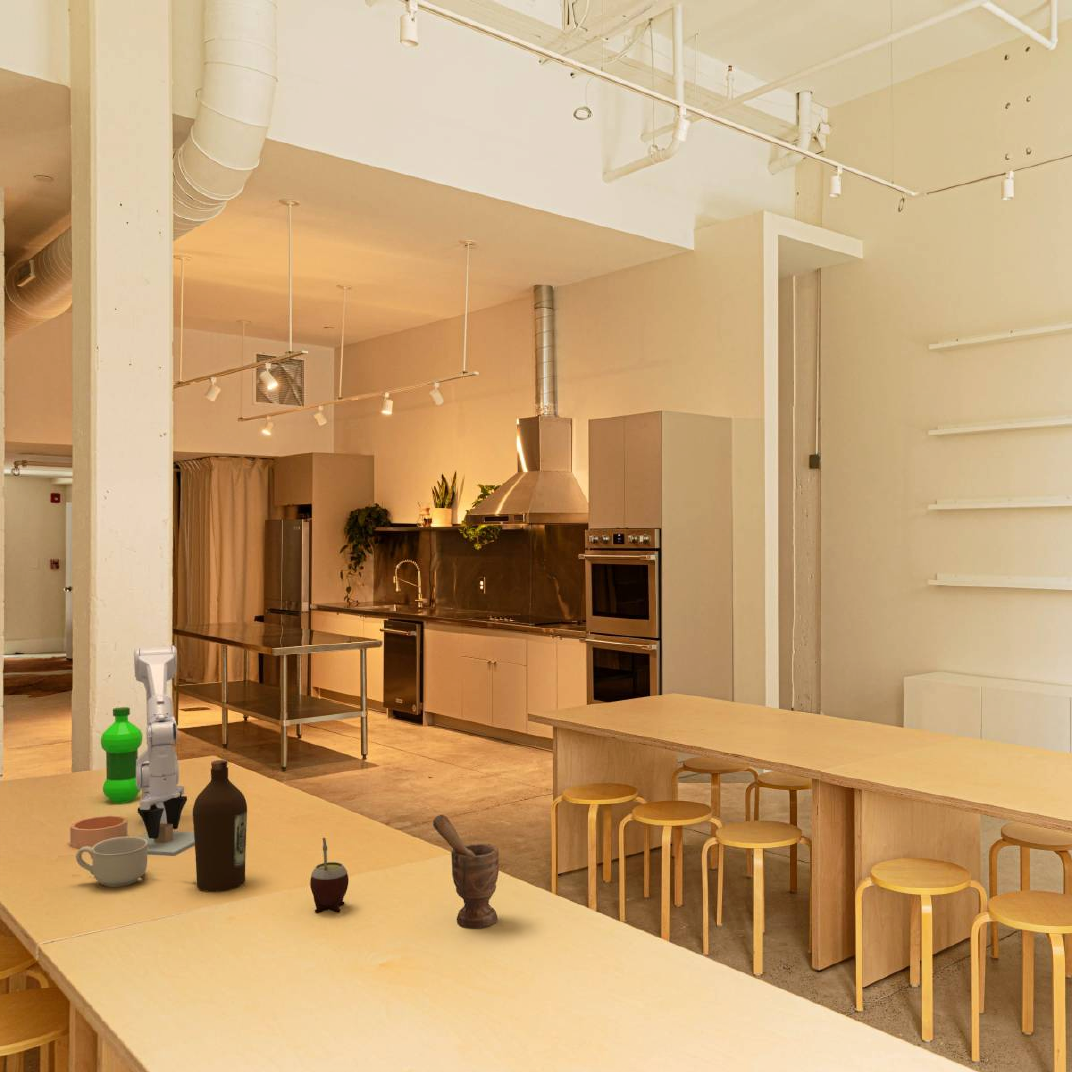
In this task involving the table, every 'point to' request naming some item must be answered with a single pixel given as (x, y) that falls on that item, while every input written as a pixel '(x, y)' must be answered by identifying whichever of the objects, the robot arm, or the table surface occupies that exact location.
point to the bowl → (97, 830)
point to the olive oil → (220, 832)
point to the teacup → (116, 860)
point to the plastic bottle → (121, 757)
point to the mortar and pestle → (472, 875)
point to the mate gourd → (329, 884)
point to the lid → (169, 841)
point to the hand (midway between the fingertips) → (163, 833)
